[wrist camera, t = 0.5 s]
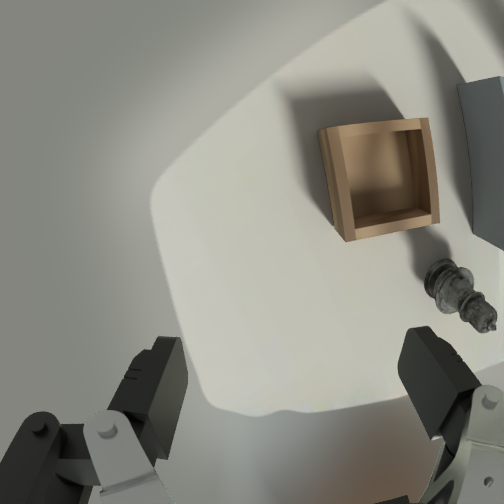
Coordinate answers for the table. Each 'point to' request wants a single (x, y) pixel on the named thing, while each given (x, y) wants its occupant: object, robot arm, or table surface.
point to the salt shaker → (459, 295)
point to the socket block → (380, 177)
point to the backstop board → (486, 154)
